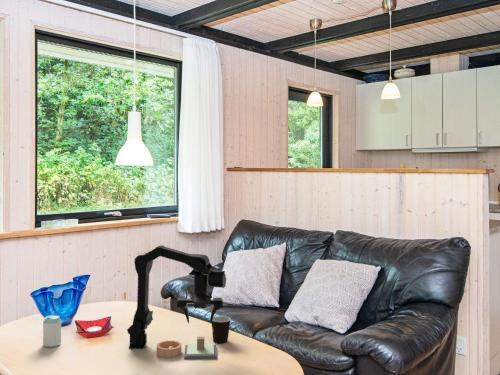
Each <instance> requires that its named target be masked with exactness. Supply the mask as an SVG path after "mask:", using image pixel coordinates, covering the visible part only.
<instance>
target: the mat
mask: <svg viewBox="0 0 500 375" xmlns="http://www.w3.org/2000/svg"><path fill="white" fill-rule="evenodd" d="M187 346H188V344H185V348H184V354H183V355H184V356H183V359H184V360H217V357H218V355H217V344H214V356H187Z"/></svg>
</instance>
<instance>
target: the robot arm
mask: <svg viewBox="0 0 500 375" xmlns="http://www.w3.org/2000/svg"><path fill="white" fill-rule="evenodd" d="M159 257H162V258H166V259H169V260H172V261H176V262H179V263H183V264H185V265H187V266H188V267H190V268H191V269H192V270H191V271H190V272H188V275H189V276H193V296H192V299H188V297H185V296H183V297H178V298H177V300H176V301H177V302H176V308H178V309H179V308H180V310H183V313H184V315H185V318H186V320H187V323H188V324H189V323H190V314H189V306H193V308H194V309H206V308H207V306H211V312H210V320H209V323H210V324H212V323H211V322H212V320H213V317H215V314H216V312H217V310H220V309H221V308H223V306H224V302H223V301H224V300H223V298H222V297H213V299H212V297H211V295H208V286H210V287H211V288H221V289H222V288H223V289H224V288H225V287H226V286H227V285H226V284H227V277H226V276H227V274H226V272H225V270H215V269H214V267H213V265H212V263H210V259H209V256H208V255H206V254H200V253H188V252H185V251H184V252H183V251H182V250H178V249H174V248H171V247H167V246H164V245H163V244H162V245H157V246H156V247H155V248H154V249H151V250H149V251H148V252H144V253H143V252H142V254H138V255H137V256H136V257H135V258H134V262H133V263H134V270H135V272H136V274H137V299H136V310H135V312H134V315H133V321H132V324H131V325H130V326H129V327H128V328H127V334H128V335H129V344H128V345H129V346H128V349H145V347H146V345H147V343H148V340H147V339H148V334H147V333H146V330H147V329H148V326H150V325H151V323H152V321H154V318H153V315H154V314H153V313H154V311H153V310H150V308H149V296H150V295H149V292H150V291H149V290H150V273H151V271H152V267H153V263H154V260H156V259H158V258H159Z"/></svg>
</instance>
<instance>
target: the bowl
mask: <svg viewBox="0 0 500 375" xmlns="http://www.w3.org/2000/svg"><path fill="white" fill-rule="evenodd" d="M155 350H156V356H158V357H160V358H163V359H171V358H172V359H173V358H177V357H179V356H181V354H182V343H181V342H180V341H178V340H173V339H172V340H171V339H170V340H168V339H167V340H162V341H159V342H158V343H157V344H156V349H155Z"/></svg>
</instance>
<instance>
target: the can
mask: <svg viewBox="0 0 500 375" xmlns="http://www.w3.org/2000/svg"><path fill="white" fill-rule="evenodd" d="M61 343H62V319H61V318H60V315H57V314H50V315H46V316H45V317H44V320H43V322H42V345H43V346H44V347H46V348H54V347H58V346H59V345H60V344H61Z"/></svg>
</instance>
